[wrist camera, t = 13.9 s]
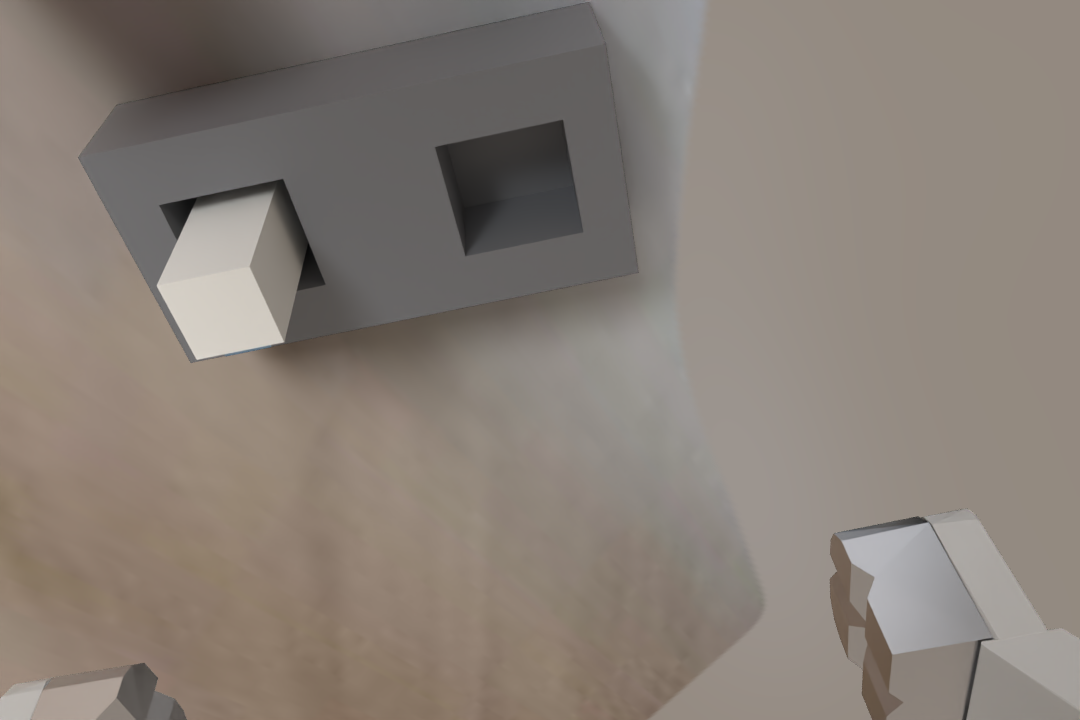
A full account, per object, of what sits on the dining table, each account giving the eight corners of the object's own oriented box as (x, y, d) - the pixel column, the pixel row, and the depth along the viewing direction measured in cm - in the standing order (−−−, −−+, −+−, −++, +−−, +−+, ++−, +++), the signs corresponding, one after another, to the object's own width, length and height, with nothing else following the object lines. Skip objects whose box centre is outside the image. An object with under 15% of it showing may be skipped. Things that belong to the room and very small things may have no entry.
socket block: (116, 104, 38) (77, 157, 34) (588, 2, 37) (605, 43, 33) (213, 299, 44) (190, 362, 40) (621, 216, 43) (638, 272, 39)
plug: (209, 171, 39) (156, 285, 32) (285, 154, 39) (249, 266, 32) (244, 247, 42) (202, 370, 34) (316, 232, 41) (289, 352, 34)
